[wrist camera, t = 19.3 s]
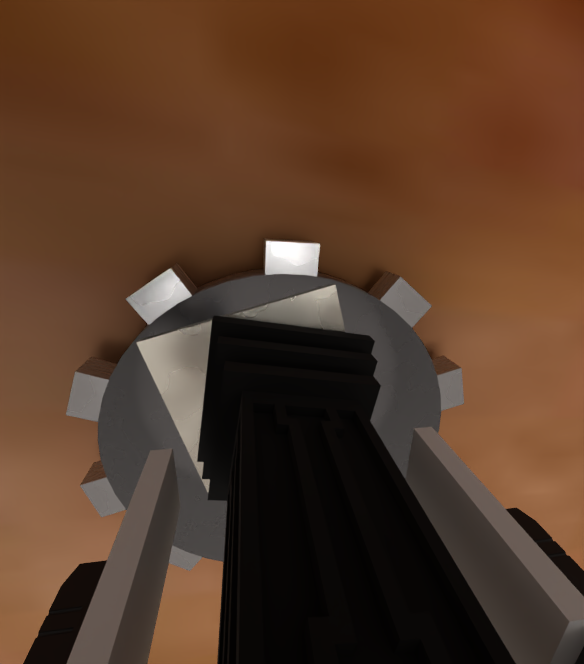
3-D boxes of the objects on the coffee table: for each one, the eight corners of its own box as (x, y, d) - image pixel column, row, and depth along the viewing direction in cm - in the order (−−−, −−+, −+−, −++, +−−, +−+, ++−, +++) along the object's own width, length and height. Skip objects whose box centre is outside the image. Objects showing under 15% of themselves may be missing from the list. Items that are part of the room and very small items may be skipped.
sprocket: (172, 586, 25) (113, 896, 13) (1, 312, 16) (-519, 519, 5) (455, 494, 26) (621, 710, 14) (427, 192, 17) (761, 149, 6)
